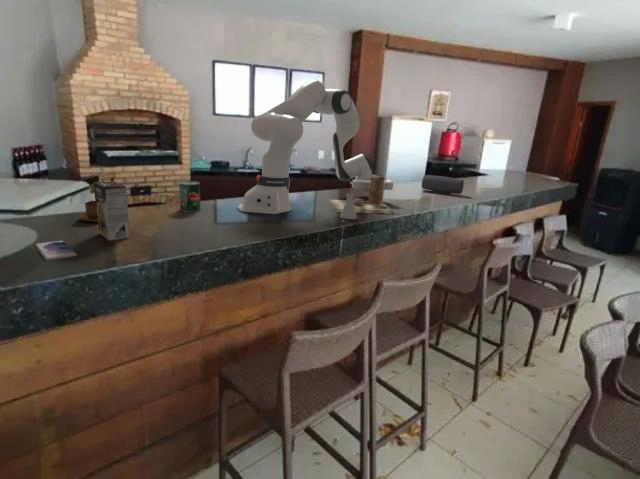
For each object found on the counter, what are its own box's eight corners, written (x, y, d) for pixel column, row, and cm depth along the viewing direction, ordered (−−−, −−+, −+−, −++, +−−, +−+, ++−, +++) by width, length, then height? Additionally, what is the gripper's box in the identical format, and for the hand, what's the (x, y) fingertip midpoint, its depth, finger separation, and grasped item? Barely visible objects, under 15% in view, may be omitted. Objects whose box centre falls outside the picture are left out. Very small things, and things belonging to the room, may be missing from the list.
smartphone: (63, 240, 114) (77, 254, 104) (63, 242, 114) (77, 257, 104) (34, 243, 109) (45, 258, 99) (34, 246, 110) (46, 261, 99)
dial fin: (356, 205, 178) (359, 178, 175) (351, 203, 182) (353, 177, 178) (383, 203, 187) (386, 177, 183) (378, 201, 190) (380, 176, 187)
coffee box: (98, 233, 123) (92, 182, 118) (120, 230, 127) (115, 180, 123) (108, 241, 117) (102, 186, 112) (130, 237, 121) (126, 185, 116)
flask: (356, 220, 158) (358, 196, 156) (338, 219, 160) (340, 194, 157) (358, 216, 165) (360, 193, 162) (340, 215, 167) (342, 191, 164)
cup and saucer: (75, 218, 139) (73, 200, 137) (113, 214, 146) (111, 198, 145) (82, 226, 130) (80, 207, 128) (122, 222, 138) (120, 204, 136)
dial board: (337, 212, 171) (337, 208, 171) (330, 202, 190) (330, 199, 190) (392, 213, 175) (393, 210, 174) (380, 204, 194) (380, 200, 193)
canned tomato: (197, 212, 156) (196, 184, 153) (177, 211, 156) (176, 183, 153) (202, 208, 164) (202, 181, 161) (183, 207, 164) (182, 180, 161)
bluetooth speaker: (462, 194, 236) (465, 178, 233) (458, 196, 228) (461, 179, 225) (425, 189, 247) (427, 173, 244) (420, 191, 240) (422, 174, 237)
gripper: (349, 175, 197) (355, 179, 184) (388, 177, 200) (397, 181, 187) (348, 188, 199) (354, 193, 186) (387, 189, 202) (396, 194, 189)
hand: (376, 187), depth 187 cm, fingers closed
